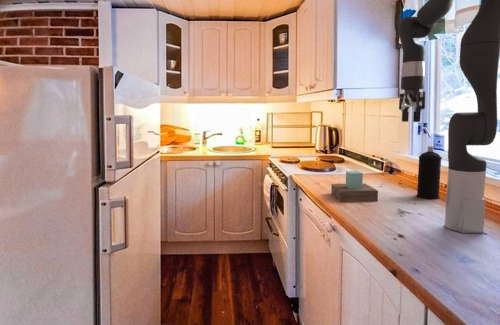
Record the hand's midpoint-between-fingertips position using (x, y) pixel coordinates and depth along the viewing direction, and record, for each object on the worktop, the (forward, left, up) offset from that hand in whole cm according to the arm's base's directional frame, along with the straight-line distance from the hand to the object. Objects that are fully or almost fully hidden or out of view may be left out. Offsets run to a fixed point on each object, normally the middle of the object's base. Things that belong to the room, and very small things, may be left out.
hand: (410, 121), depth 131 cm
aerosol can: (+8, -12, -30) cm, 33 cm away
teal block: (+10, +17, -26) cm, 32 cm away
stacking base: (+10, +17, -30) cm, 36 cm away
